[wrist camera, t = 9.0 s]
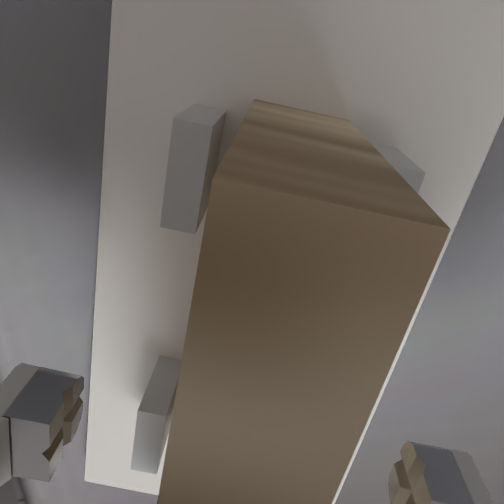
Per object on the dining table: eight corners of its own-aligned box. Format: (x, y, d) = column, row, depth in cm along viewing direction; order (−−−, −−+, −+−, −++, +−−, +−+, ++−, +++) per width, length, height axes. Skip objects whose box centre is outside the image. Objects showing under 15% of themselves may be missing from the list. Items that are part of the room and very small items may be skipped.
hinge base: (134, -124, 12) (68, -201, 9) (544, -28, 13) (657, -60, 9) (94, 460, 22) (55, 544, 19) (322, 504, 23) (330, 595, 19)
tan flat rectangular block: (254, 99, 13) (212, 177, 5) (349, 120, 14) (451, 228, 5) (190, 425, 19) (123, 698, 11) (256, 438, 20) (238, 718, 11)
